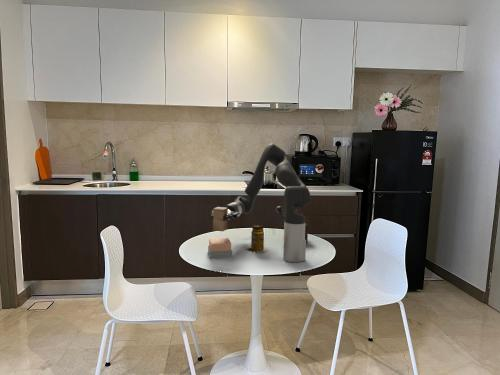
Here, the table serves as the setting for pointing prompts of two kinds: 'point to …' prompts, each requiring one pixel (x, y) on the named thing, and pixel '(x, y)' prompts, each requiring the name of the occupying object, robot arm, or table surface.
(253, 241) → the condiment
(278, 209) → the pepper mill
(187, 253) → the table surface
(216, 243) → the tower top
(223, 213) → the tall block
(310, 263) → the table surface
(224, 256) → the tower bottom
